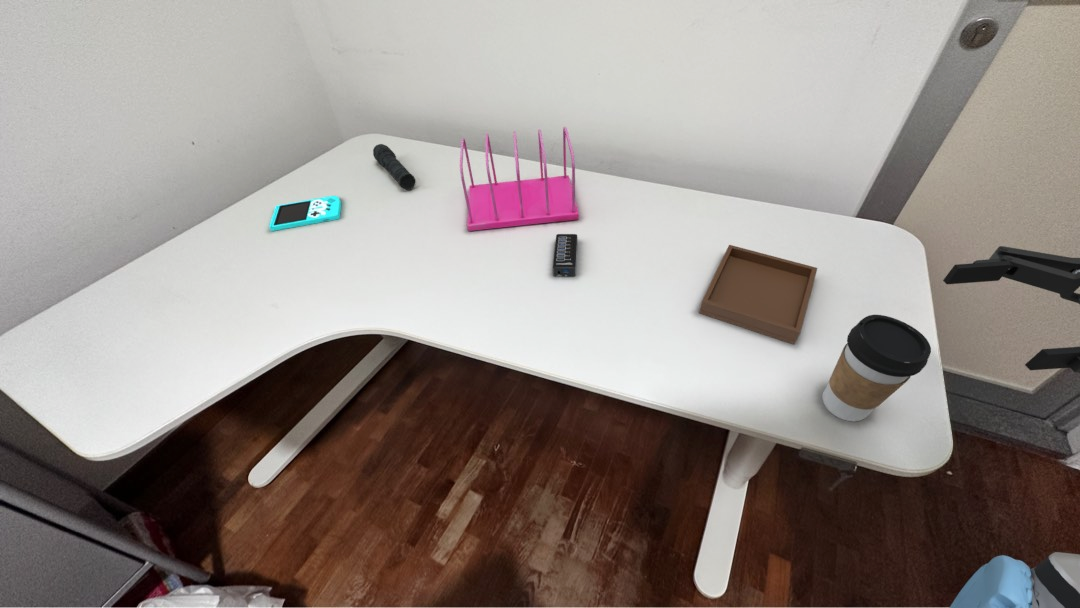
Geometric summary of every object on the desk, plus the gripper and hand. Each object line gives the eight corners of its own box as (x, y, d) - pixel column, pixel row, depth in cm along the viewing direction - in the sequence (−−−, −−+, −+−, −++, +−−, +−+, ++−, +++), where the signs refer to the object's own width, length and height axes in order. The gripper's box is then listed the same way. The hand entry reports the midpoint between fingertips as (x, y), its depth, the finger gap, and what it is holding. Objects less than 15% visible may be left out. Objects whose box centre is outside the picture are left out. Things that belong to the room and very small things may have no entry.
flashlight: (392, 157, 130) (386, 141, 127) (419, 187, 118) (414, 169, 114) (375, 163, 129) (369, 146, 125) (401, 194, 116) (395, 176, 112)
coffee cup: (820, 371, 70) (862, 302, 60) (883, 396, 67) (940, 328, 56) (805, 410, 66) (849, 343, 55) (872, 440, 62) (932, 375, 51)
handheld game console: (339, 219, 109) (337, 214, 108) (270, 232, 108) (267, 227, 107) (342, 198, 116) (340, 193, 115) (277, 209, 115) (274, 204, 114)
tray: (794, 344, 74) (800, 332, 72) (698, 313, 80) (701, 301, 78) (811, 280, 84) (817, 267, 82) (725, 256, 91) (729, 244, 89)
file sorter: (579, 220, 103) (578, 155, 92) (468, 232, 102) (454, 168, 91) (569, 181, 115) (567, 119, 104) (470, 191, 115) (458, 130, 103)
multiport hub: (577, 242, 97) (577, 233, 95) (575, 276, 89) (575, 267, 88) (556, 242, 98) (556, 233, 96) (553, 276, 90) (552, 267, 88)
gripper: (1269, 412, 46) (1054, 426, 47) (1063, 256, 64) (909, 267, 65) (1358, 368, 41) (1114, 384, 42) (1106, 211, 59) (938, 224, 59)
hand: (989, 313), depth 53 cm, fingers open, 13 cm apart
